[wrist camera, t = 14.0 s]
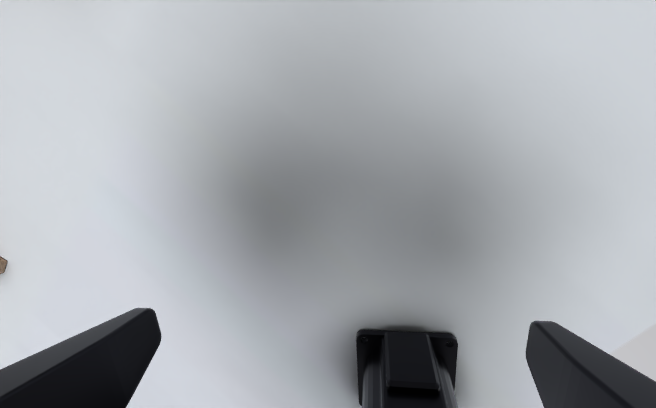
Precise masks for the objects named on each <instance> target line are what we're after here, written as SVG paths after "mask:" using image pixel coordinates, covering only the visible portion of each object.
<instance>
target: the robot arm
mask: <svg viewBox="0 0 656 408" xmlns="http://www.w3.org/2000/svg"><path fill="white" fill-rule="evenodd" d="M362 337H365V338H367V339H362ZM447 341H452V342H450V343H446V342H447ZM160 342H161V331H160V328H159V324H158V320H157V317H156V313H155V311H154V310H153V309H151V308H135V309H133V310H131V311H129V312H126V313H124V314H122V315H120V316H117V317H115V318H113V319H111V320H109V321H106V322H104V323H102V324H100V325H98V326H95V327H93V328H91V329H89V330H87V331H84V332H82V333H80V334H78V335H76V336H73V337H71V338H69V339H67V340H65V341H62V342H60V343H58V344H56V345H54V346H51V347H49V348H47V349H45V350H43V351H40V352H38V353H36V354H34V355H32V356H29V357H27V358H25V359H23V360H21V361H18V362H16V363H14V364H12V365H10V366H7V367H5V368H3V369H1V370H0V408H126V406H127V405H128V403H129V401H130V399H131V397H132V396H133V394H134V392H135V390H136V388H137V386H138V384H139V383H140V381H141V379H142V377H143V375H144V373H145V371H146V369H147V367H148V366H149V364H150V362H151V360H152V358H153V356H154V354H155V352H156V350H157V349H158V347H159V345H160ZM356 343H357V366H358V390H359V404H360V405H361V406H362V408H458V404H457V400H456V397H455V393H454V388H455V375H456V362H457V349H458V343H457V339H456V337H455V336H454V335H452V334H449V333H424V332H399V331H374V330H361V331H359V332H358V333H357V338H356ZM526 359H527V363H528V366H529V368H530V371H531V374H532V376H533V379H534V382H535V384H536V387H537V390H538V392H539V395H540V398H541V400H542V403H543V406H544V408H656V382H655V381H654V380H652V379H650V378H648V377H647V376H645V375H643V374H642V373H640V372H638V371H637V370H635V369H633V368H631V367H630V366H628V365H626V364H625V363H623V362H621V361H620V360H618V359H616V358H614V357H613V356H611V355H609V354H608V353H606V352H604V351H603V350H601V349H599V348H598V347H596V346H594V345H592V344H591V343H589V342H587V341H586V340H584V339H582V338H581V337H579V336H577V335H576V334H574V333H572V332H570V331H569V330H567V329H565V328H564V327H562V326H560V325H559V324H557V323H555V322H551V321H534V322H532V323H531V325H530V328H529V335H528V341H527V347H526Z"/></svg>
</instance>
